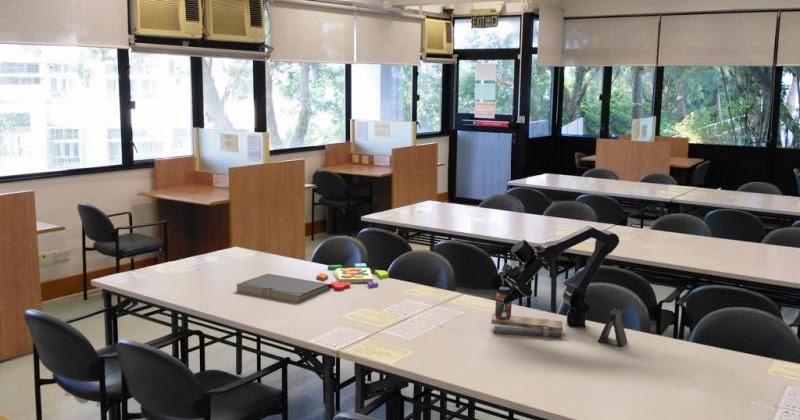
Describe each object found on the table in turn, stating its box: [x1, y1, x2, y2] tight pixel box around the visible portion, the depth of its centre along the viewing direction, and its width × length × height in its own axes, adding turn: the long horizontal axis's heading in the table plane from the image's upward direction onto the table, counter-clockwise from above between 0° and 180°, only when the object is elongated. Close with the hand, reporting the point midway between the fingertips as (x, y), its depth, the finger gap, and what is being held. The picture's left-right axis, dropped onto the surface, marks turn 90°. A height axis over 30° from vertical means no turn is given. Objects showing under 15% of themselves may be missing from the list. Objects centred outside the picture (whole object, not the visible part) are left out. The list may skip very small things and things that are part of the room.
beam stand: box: [493, 318, 560, 340], centre depth 275 cm, size 24×11×4 cm, turn 80°
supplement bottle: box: [494, 286, 513, 319], centre depth 275 cm, size 6×6×11 cm
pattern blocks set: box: [316, 262, 389, 292], centre depth 344 cm, size 38×34×3 cm
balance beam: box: [490, 312, 564, 333], centre depth 274 cm, size 26×8×2 cm, turn 80°
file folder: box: [236, 273, 332, 304], centre depth 320 cm, size 33×4×24 cm
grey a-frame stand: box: [597, 308, 628, 348], centre depth 264 cm, size 9×6×12 cm, turn 55°
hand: (500, 300), depth 274 cm, fingers closed on supplement bottle, 6 cm apart
